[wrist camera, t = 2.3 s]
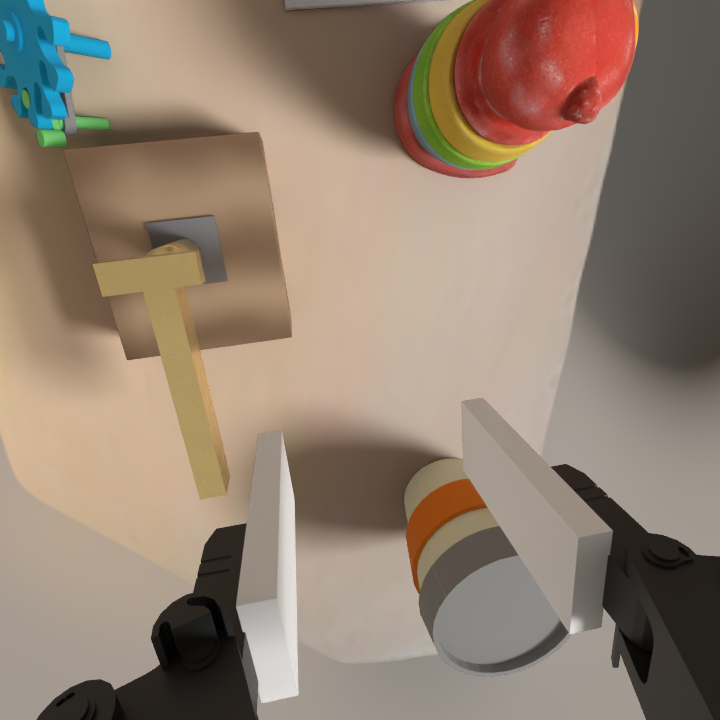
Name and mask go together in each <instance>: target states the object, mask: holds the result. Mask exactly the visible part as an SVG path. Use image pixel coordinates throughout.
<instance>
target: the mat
mask: <svg viewBox="0 0 720 720" xmlns="http://www.w3.org/2000/svg"><path fill="white" fill-rule="evenodd" d="M424 1H439V0H284V2H285V9H286V10H298V9H314V8H330V7H345V6H361V5H377V4H392V3H408V2H424Z"/></svg>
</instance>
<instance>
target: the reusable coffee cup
mask: <svg viewBox="0 0 720 720" xmlns="http://www.w3.org/2000/svg"><path fill="white" fill-rule="evenodd" d="M404 505H405V511H406V517H407V522H408V525H407V531H406V540H407V546H408V552H409V558H410V564H411V569H412V575H413V581H414V585H415V587H416V589H417V591H418V593H419V594H420V595H419V608H420V614H421V616H422V619H423V621H424V623H425V625H426V627H427V630H428V632H429V634H430V636H431V638H432V641H433V643H434V645H435V647H436V650H437V652H438V654H439V655H440V657H441V658H442V659H443V660H444V661H445V662H446V663H447V664H448V665H450V666H451V667H452V668H454V669H455V670H458V671H460V672H463V673H465V674H469V675H475V676H489V677H490V676H491V677H493V676H501V675H507V674H511V673H514V672H518V671H521V670H524V669H526V668H529V667H531V666H533V665H535V664H537V663H539V662H541V661H542V660H544V659H546V658H547V657H549V656H550V655H551V654H553V653H554V652H555V651H557V650H558V649H559V648H560V647H561V646H562V645H563V644H564V643H565V642H566V641H567V640H568V639H569V638H570V636H571V635H572V634H569V632H568V631H567V629H566V628H565V626H564V625H563V623H562V622H561V620H560V619H559V617H558V615H557V614H556V612H555V611H554V609H553V608H552V606H551V605H550V603H549V602H548V600H547V598H546V597H545V595H544V594H543V592H542V591H541V589H540V588H539V586H538V584H537V583H536V581H535V580H534V578H533V577H532V575H531V574H530V572H529V571H528V569H527V567H526V566H525V564H524V563H523V561H522V560H521V558H520V557H519V555H518V554H517V552H516V550H515V549H514V547H513V546H512V544H511V543H510V541H509V540H508V538H507V537H506V535H505V533H504V532H503V530H502V529H501V527H500V526H499V524H498V523H497V521H496V519H495V518H494V516H493V515H492V513H491V512H490V510H489V509H488V507H487V506H486V504H485V502H484V501H483V499H482V498H481V496H480V495H479V493H478V492H477V490H476V489H475V487H474V485H473V484H472V482H471V481H470V479H469V478H468V476H467V475H466V473H465V472H464V470H463V460H462V459H455V458H449V459H442V460H437V461H435V462H432V463H430V464H428V465H426V466H425V467H423V468H422V469H420V470H419V471H418V472H417V473H416V474H415V475H414V476H413V478H412V479H411V480H410V482H409V484H408V485H407V487H406V491H405V494H404Z"/></svg>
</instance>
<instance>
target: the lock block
mask: <svg viewBox="0 0 720 720" xmlns="http://www.w3.org/2000/svg"><path fill="white" fill-rule="evenodd" d="M63 151H64V154H65V158H66V161H67V164H68V168H69V171H70V174H71V178H72V181H73V184H74V187H75V191H76V194H77V197H78V201H79V204H80V207H81V210H82V214H83V217H84V220H85V224H86V227H87V230H88V233H89V237H90V240H91V243H92V247H93V250H94V253H95V257H96V260H97V262H100V261H108V260H116V259H125V258H133V257H142V256H146V255H147V253H148V252H150V251H151V250H153V249H156V248H158V247H161V246H164V245H166V244H169V243H172V242H175V241H177V240H180V239H191V240H193V241H195V242H196V243H197V244H198V245H199V246H200V248H201V250H202V260H201V262H202V267H203V271H204V276H205V280H206V281H205V282H204V283H203V284H201V285H193V286H185V290H186V294H187V299H188V303H189V307H190V311H191V315H192V319H193V323H194V328H195V332H196V336H197V340H198V344H199V348H200V350H204V349H211V348H218V347H225V346H233V345H240V344H247V343H254V342H261V341H268V340H275V339H282V338H290V337H292V329H291V315H290V309H289V303H288V297H287V291H286V284H285V278H284V272H283V266H282V259H281V253H280V247H279V241H278V234H277V228H276V222H275V216H274V209H273V203H272V197H271V191H270V184H269V178H268V172H267V166H266V160H265V153H264V147H263V141H262V139H261V137H260V134H259V132H252V133H241V134H230V135H219V136H208V137H197V138H186V139H175V140H164V141H153V142H142V143H131V144H120V145H109V146H99V147H88V148H77V149H66V150H63ZM108 299H109V303H110V306H111V309H112V312H113V316H114V319H115V322H116V326H117V329H118V332H119V336H120V339H121V342H122V345H123V349H124V352H125V355H126V359H127V360H133V359H140V358H147V357H154V356H161V355H160V351H159V348H158V344H157V340H156V337H155V333H154V330H153V326H152V322H151V319H150V315H149V311H148V308H147V304H146V300H145V297H144V293H143V292H137V293H129V294H121V295H113V296H108Z"/></svg>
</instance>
